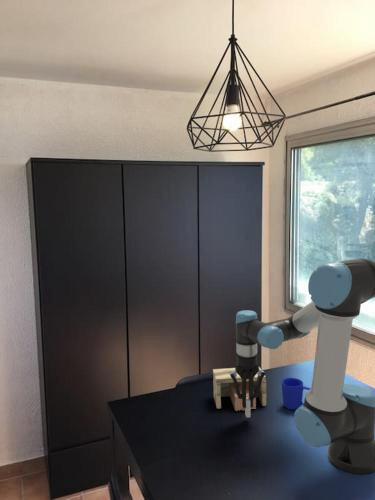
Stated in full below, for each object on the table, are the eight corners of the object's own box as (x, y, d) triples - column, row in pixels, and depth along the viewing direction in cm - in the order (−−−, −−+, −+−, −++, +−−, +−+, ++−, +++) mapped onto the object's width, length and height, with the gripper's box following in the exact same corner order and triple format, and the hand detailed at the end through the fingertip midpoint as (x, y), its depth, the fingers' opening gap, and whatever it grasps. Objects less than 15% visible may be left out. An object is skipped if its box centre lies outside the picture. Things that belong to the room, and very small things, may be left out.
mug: (307, 416, 162) (307, 391, 161) (277, 407, 170) (277, 383, 168) (315, 407, 169) (316, 383, 168) (286, 399, 176) (286, 375, 175)
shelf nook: (266, 405, 172) (266, 377, 170) (217, 408, 170) (216, 380, 169) (259, 393, 182) (259, 366, 181) (213, 395, 181) (212, 369, 180)
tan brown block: (255, 410, 169) (255, 395, 168) (235, 411, 168) (235, 396, 167) (249, 395, 181) (249, 382, 180) (230, 397, 180) (229, 383, 179)
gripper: (262, 349, 161) (262, 409, 164) (227, 350, 161) (228, 411, 164) (267, 356, 154) (267, 419, 157) (230, 358, 153) (231, 421, 156)
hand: (247, 415), depth 160 cm, fingers closed
